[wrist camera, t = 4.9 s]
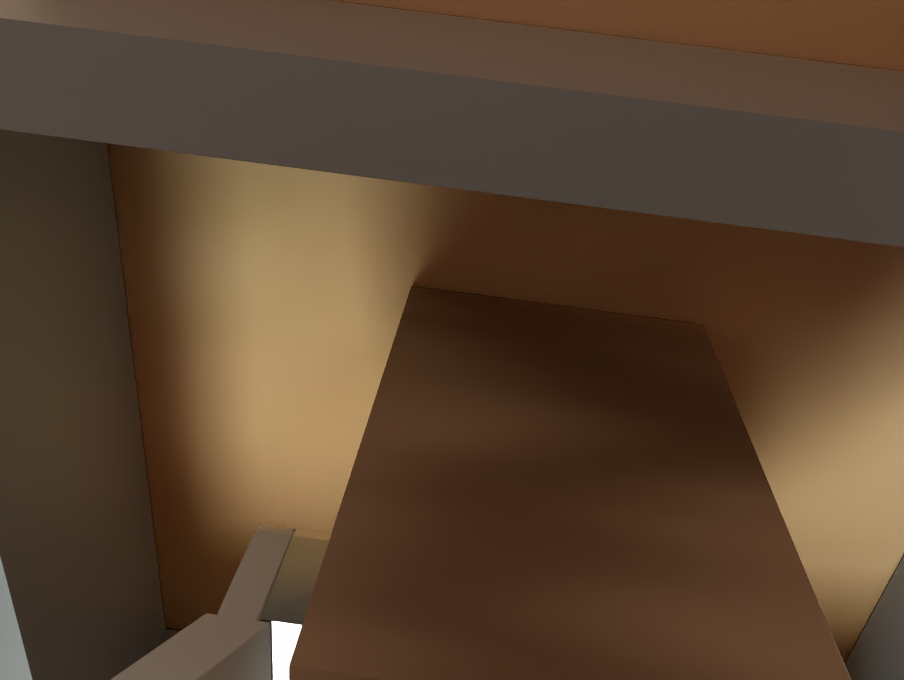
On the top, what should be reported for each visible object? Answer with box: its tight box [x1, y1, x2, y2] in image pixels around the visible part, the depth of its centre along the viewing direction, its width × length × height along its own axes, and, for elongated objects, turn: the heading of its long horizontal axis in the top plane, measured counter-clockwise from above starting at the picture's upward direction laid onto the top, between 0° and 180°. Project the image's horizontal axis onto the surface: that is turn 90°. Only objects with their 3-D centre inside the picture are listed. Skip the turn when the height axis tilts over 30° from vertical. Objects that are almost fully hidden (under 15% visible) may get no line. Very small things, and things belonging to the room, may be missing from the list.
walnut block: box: [289, 286, 850, 680], centre depth 10 cm, size 5×6×7 cm
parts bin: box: [0, 0, 904, 680], centre depth 12 cm, size 16×14×4 cm
